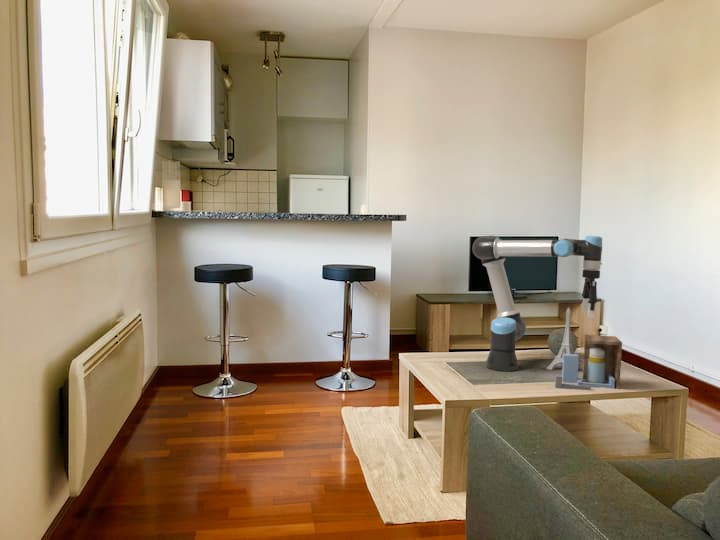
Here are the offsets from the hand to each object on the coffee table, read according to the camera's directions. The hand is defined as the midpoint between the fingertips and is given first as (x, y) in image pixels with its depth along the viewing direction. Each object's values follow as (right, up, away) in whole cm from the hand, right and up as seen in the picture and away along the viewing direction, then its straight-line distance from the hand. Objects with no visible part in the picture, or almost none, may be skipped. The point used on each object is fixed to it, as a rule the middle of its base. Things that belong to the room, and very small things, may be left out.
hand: (587, 314), depth 274 cm
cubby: (-1, -29, -16) cm, 33 cm away
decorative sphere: (-1, -25, +34) cm, 42 cm away
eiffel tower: (-7, -27, +9) cm, 29 cm away
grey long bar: (-16, -30, -24) cm, 41 cm away
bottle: (-2, -29, -15) cm, 33 cm away
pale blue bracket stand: (-6, -29, -16) cm, 34 cm away
